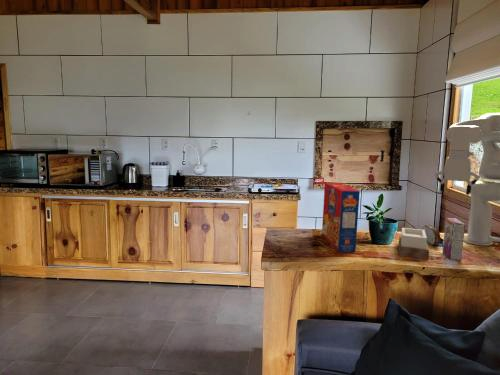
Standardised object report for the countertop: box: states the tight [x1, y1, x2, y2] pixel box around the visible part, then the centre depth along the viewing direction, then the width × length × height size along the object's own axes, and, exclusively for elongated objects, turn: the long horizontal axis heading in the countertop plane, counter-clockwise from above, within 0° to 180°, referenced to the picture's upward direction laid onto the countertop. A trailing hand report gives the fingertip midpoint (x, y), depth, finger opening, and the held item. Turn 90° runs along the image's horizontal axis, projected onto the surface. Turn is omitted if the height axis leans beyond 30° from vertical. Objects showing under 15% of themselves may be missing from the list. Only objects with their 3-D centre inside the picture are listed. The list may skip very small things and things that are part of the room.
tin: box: [422, 224, 441, 246], centre depth 188 cm, size 15×3×8 cm, turn 178°
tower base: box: [398, 236, 430, 260], centre depth 173 cm, size 12×18×4 cm, turn 159°
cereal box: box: [321, 182, 360, 253], centre depth 182 cm, size 28×8×28 cm, turn 4°
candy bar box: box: [442, 217, 466, 261], centre depth 167 cm, size 11×5×16 cm, turn 168°
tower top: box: [400, 227, 428, 249], centre depth 173 cm, size 10×16×5 cm, turn 158°
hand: (454, 193), depth 165 cm, fingers open, 9 cm apart
